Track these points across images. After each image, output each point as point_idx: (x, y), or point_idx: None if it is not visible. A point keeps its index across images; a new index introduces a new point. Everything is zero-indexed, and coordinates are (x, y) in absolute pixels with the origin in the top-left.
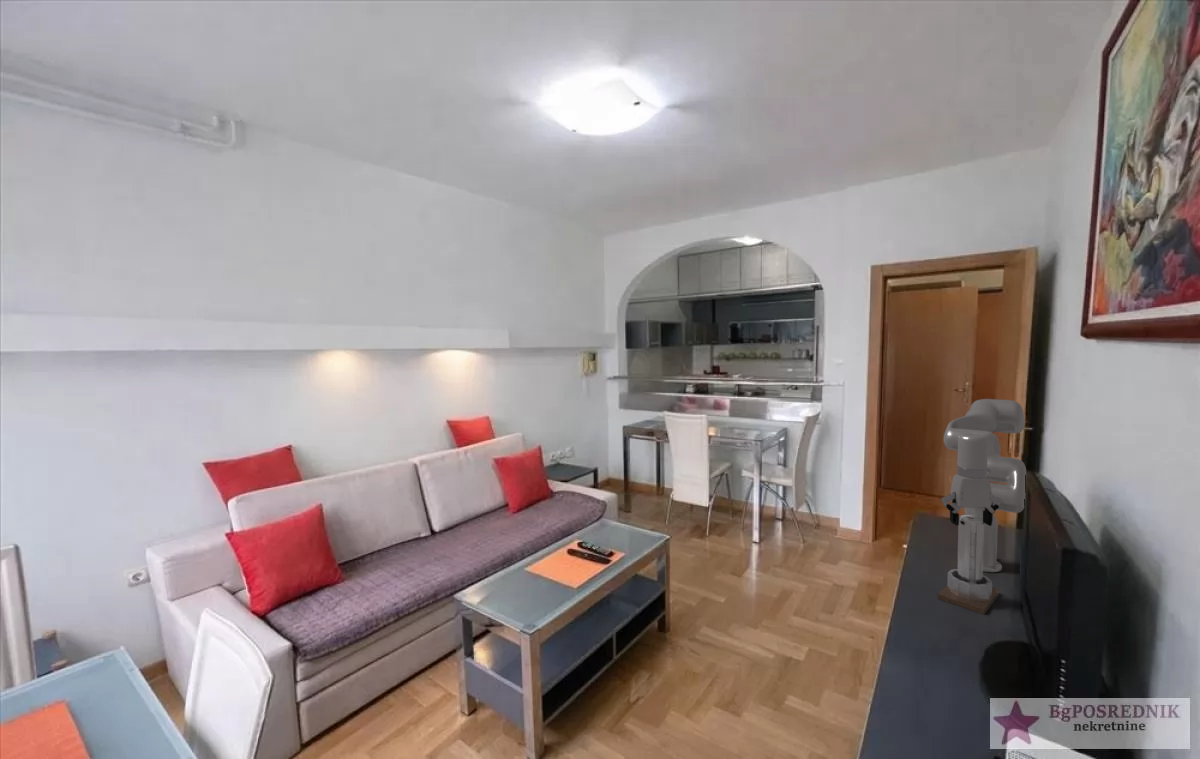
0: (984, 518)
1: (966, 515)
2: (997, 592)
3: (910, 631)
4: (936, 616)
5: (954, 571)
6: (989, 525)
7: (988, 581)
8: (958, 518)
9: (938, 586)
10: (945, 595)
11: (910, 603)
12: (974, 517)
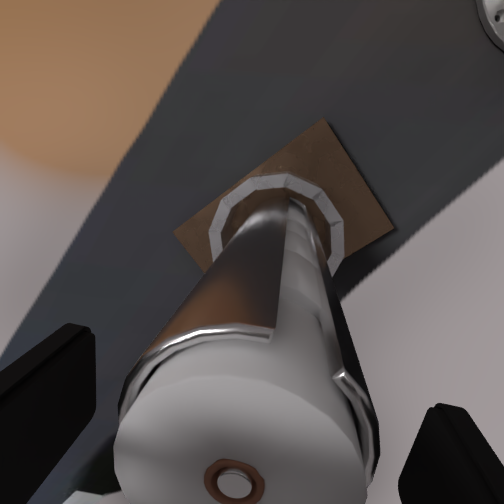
0: (448, 483)
1: (242, 401)
2: (367, 243)
3: None
4: (121, 305)
5: (258, 189)
6: (403, 485)
7: None
8: (29, 491)
9: (229, 158)
10: (189, 242)
11: (89, 244)
12: (293, 481)
